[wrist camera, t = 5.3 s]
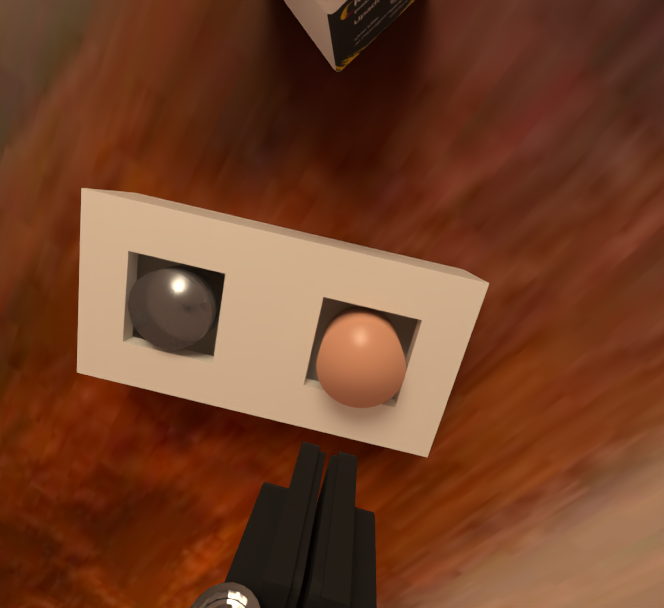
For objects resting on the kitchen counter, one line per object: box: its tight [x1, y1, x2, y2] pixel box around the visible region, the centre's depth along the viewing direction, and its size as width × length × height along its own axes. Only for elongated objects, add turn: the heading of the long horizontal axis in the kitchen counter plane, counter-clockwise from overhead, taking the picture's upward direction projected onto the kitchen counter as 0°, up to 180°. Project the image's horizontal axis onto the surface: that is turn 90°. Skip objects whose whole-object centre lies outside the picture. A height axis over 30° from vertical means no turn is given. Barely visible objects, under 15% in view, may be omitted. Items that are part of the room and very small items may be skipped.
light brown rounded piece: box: [316, 306, 406, 408], centre depth 21 cm, size 5×5×4 cm
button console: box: [77, 188, 489, 457], centre depth 24 cm, size 24×12×5 cm, turn 77°
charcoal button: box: [128, 264, 225, 350], centre depth 23 cm, size 5×5×4 cm
